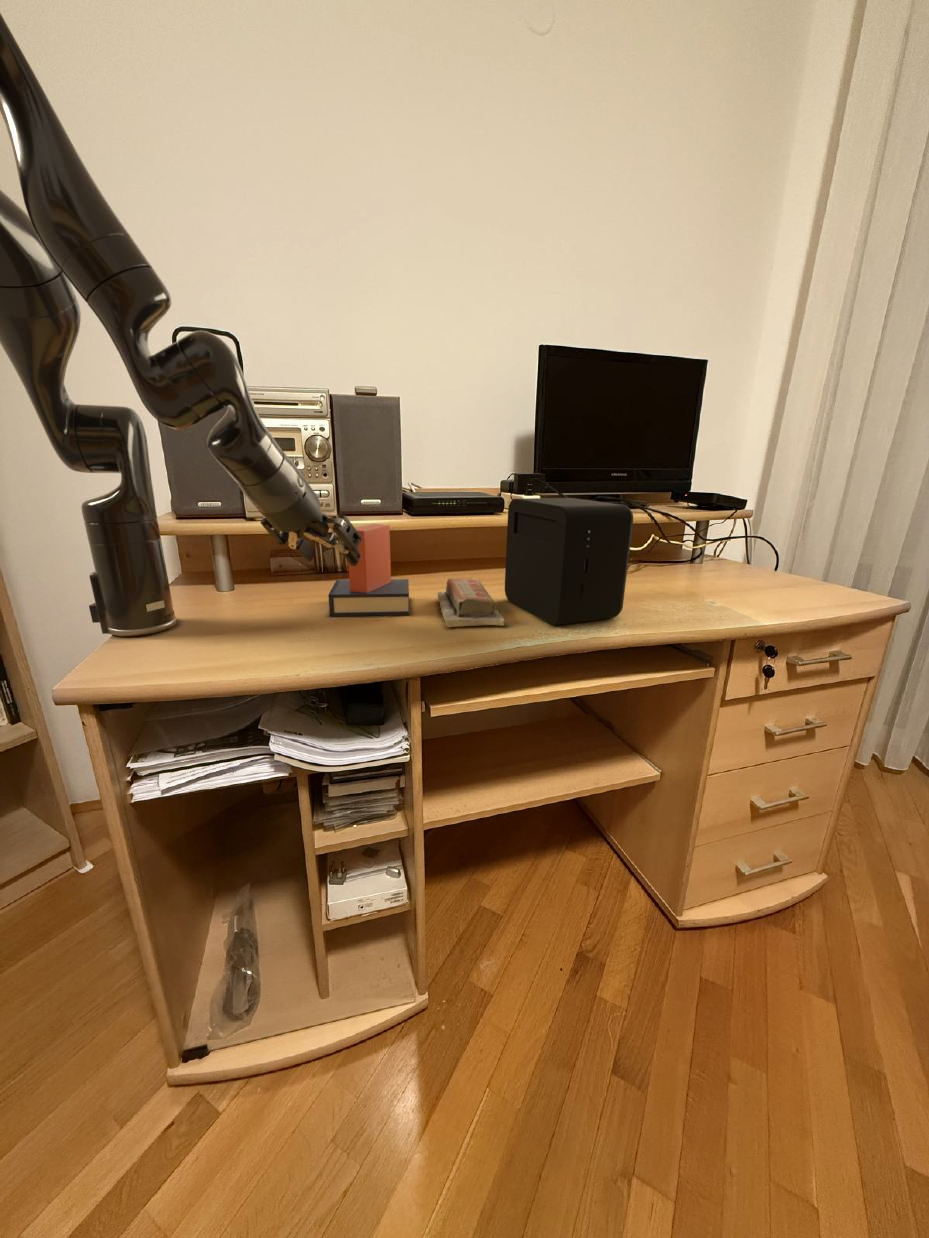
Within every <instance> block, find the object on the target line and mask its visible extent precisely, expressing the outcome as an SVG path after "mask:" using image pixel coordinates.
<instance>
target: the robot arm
mask: <svg viewBox="0 0 929 1238" xmlns="http://www.w3.org/2000/svg"><path fill="white" fill-rule="evenodd" d="M0 115H1V116H2V119H3V121H4V124H5V127H6V130H7V134H8V137H9V140H10V144H11V147H12V152H13V157H14V161H15V165H16V166H15V167H16V171H17V176H18V181H19V187H20V189H21V194H22V198H23V202H24V206H25V209H26V211H27V212H26V211H25V210H24V209H23V208H22V207H21V206H20V205H19V204H18V203H17V202H15V201H14V200H13V198H11V197H10V196H9V195H8V194H7V193H6V192H4V190H2V189H1V188H0V345H1V347H2V349H3V351H4V352H5V354H6V356H7V358H8V359H9V361H10V363H11V365H12V367H13V368H14V370H15V372H16V374H17V376H18V377H19V380H20V381H21V383H22V386H23V387H24V389H25V392H26V394H27V396H28V398H29V399H30V402H31V404H32V407H33V408H34V410H35V413H36V415H37V417H38V420H39V421H40V423H41V426H42V427H43V430H44V433H45V435H46V437H47V439H48V441H49V443H50V445H51V447H52V448H53V450H54V452H55V454H56V456H57V457H58V458H59V460H60V461H61V462H62V463H63V464H64V465H65V466H66V467H67V468H68V469H69V470H71V471H73V472H78V473H84V474H120V483H119V484H118V485H117V486H116V487H115V488H114V489H112V490H111V491H109V492H107V493H104V494H103V495H99V496H96V497H93V498H89V499H87V500H85V501H83V502H82V504H81V508H80V509H81V515H82V519H83V521H84V522H83V523H84V527H85V528H84V529H85V533H86V536H87V541H88V545H89V550H90V553H91V559H92V563H93V568H94V571H93V572H91V573H89V581H90V586H91V590H92V595H93V599H94V603H91V604H89V605H88V609H89V613H90V618H91V621H92V623H93V624H94V623H99V625H100V629H101V634H102V635H105V634H106V635H107V634H108V635H111V636H115V637H139V636H145V635H146V636H147V635H151V634H156V633H160V632H163V631H166V630H168V629H171V628H172V627H174V626H175V625H176V624H177V618H176V615H175V609H174V604H173V599H172V593H171V587H170V582H169V577H168V571H167V563H166V559H165V554H164V553H165V552H164V547H163V543H162V539H161V538H162V537H161V531H160V526H159V520H158V514H157V509H156V501H155V493H154V486H153V481H152V480H153V479H152V473H151V472H152V471H151V465H150V456H149V445H148V438H147V434H146V430H145V425H144V423H143V421H142V418H141V417H140V415H139V414H138V413H137V412H136V411H135V410H134V409H133V408H131V407H128V406H121V405H101V404H78V403H75V402H74V401H73V400H72V399H71V398H70V396H69V394H68V392H67V389H66V385H65V378H66V372H67V368H68V364H69V361H70V358H71V356H72V353H73V350H74V347H75V345H76V342H77V339H78V336H79V333H80V329H81V321H82V312H81V307H80V303H79V301H78V300H79V299H78V298H77V296H76V292H75V290H76V291H77V293H78V294H79V295H80V296H81V297H82V299H83V300H84V302H85V303H86V304H87V305H88V307H89V308H90V310H91V311H92V312H93V313H94V314H95V316H96V317H97V319H98V320H99V321H100V323H101V325H102V326H103V328H104V329H105V331H106V333H107V334H108V336H109V338H110V339H111V341H112V343H113V346H114V347H115V349H116V350H117V352H118V354H119V357H120V359H121V361H122V363H123V364H124V366H125V369H126V372H127V373H128V375H129V378H130V380H131V382H132V385H133V387H134V389H135V391H136V393H137V395H138V398H139V399H140V401H141V403H142V405H143V406H144V407H145V409H146V410H147V411H148V412H149V414H150V415H151V416H152V417H153V418H154V419H155V420H156V421H158V422H159V423H161V424H162V425H164V426H165V427H168V428H170V429H172V430H177V431H185V430H188V429H191V428H193V427H194V426H196V425H198V424H199V423H201V422H203V421H204V420H206V419H208V418H210V417H212V416H213V415H214V414H216V413H218V412H219V411H221V410H223V409H224V408H225V407H227V410H226V412H225V414H224V415H223V416H222V417H221V418H220V420H218V421H217V423H216V424H215V425H214V426H213V428H212V429H211V430H210V432H209V434H208V435H207V440H206V445H207V448H208V450H209V452H210V454H211V456H213V458H214V459H215V460H216V461H217V463H219V465H220V466H221V467H222V468H223V469H224V470H225V471H226V473H227V474H228V475H229V476H230V477H231V478H232V479H233V481H234V482H235V483H236V484H237V485H238V487H239V489H240V490H241V491H242V493H243V494H244V496H245V497H246V498H247V499H248V501H249V502H251V504H252V505H253V506H254V507H255V509H257V510H258V512H259V513H260V514H261V515H262V516H263V517H262V519H261V521H260V525H261V526H262V527H263V528H264V529H265V530H266V532H267V533H268V534H269V535H270V536H271V538H272V539H273V540H274V541H275V542H276V543H277V544H278V546H282V547H284V546H285V545H288V547H289V548H290V549H292V550H295V551H296V552H297V554H299V556H301V557H302V558H303V560H305V561H306V562H312V560H313V558H314V556H315V554H316V551H315V549H314V548H313V546H312V545H311V544H310V542H311V541H313V542H317V543H319V544H321V545H323V546H324V547H326V548H328V549H332V548H334V549H335V550H337V551H339V552H341V554H342V556H343V557H344V558H345V560H346V561H347V562H349V563H350V565H351V566H357V563H358V562H359V560H360V557H361V554H360V552H359V551H358V550H357V549H358V546H359V544H360V542H361V540H362V537H361V535H360V534H359V533H358V531H357V530H356V529H355V528H356V527H355V526H354V525H353V524H352V522H351V521H350V519H349V518H348V517H347V515H346V514H344V513H338V515H337V517H330V516H328V514H326V513H324V512H323V511H322V508H321V503H320V498H319V496H318V495H317V493H316V492H315V491H314V489H313V488H312V487H311V485H310V484H309V482H308V481H307V479H306V478H305V477H304V475H303V473H301V471H300V470H299V468H298V467H297V466H296V464H295V462H293V460H292V459H291V458H290V457H289V456H288V455H287V454H286V453H285V452H284V451H283V449H282V448H281V446H280V445H279V444H278V442H277V441H276V440H275V438H274V437H273V436H272V434H271V432H270V431H269V430H268V428H267V426H266V425H265V424H264V422H263V420H262V418H261V417H260V415H259V413H258V411H257V408H256V407H255V404H254V401H253V398H252V396H251V393H250V390H249V388H248V385H247V381H246V379H245V376H244V373H243V370H242V367H241V365H240V363H239V361H238V358H237V356H236V355H235V353H234V352H233V350H232V349H231V347H230V346H229V345H228V344H227V343H226V342H225V341H224V340H223V339H222V338H220V337H219V336H217V335H216V334H214V333H211V332H209V331H206V330H195V331H192V332H190V333H188V334H186V335H184V336H183V337H181V338H180V339H178V340H177V341H175V342H173V343H171V344H170V345H168V346H166V347H164V348H163V349H161V350H159V351H157V352H156V353H154V354H152V353H151V350H150V348H149V335H150V333H151V332H152V330H153V328H154V327H155V326H156V325H157V324H158V323H159V322H160V321H161V320H162V319H163V318H164V316H166V314H167V313H168V312H169V310H170V309H171V307H172V297H171V294H170V291H169V290H168V288H167V286H166V285H165V284H164V281H162V279H161V278H160V276H159V275H158V273H157V271H156V270H155V269H154V268H153V265H152V264H151V263H150V262H149V259H147V257H146V256H145V254H144V253H143V251H142V250H141V248H140V247H139V246H138V244H137V243H136V241H135V240H134V239H133V237H132V236H131V235H130V232H129V231H128V230H127V228H126V227H125V226H124V224H123V223H122V222H121V220H120V218H119V217H118V216H117V215H116V213H115V211H114V209H113V208H112V207H111V205H110V203H109V202H108V201H107V199H106V197H105V196H104V194H103V193H102V191H101V190H100V188H99V186H98V185H97V183H96V182H95V180H94V178H93V177H92V175H91V174H90V172H89V169H88V168H87V166H86V165H85V163H84V161H83V160H82V158H81V156H80V154H79V152H78V151H77V149H76V147H75V146H74V143H73V141H72V140H71V138H70V136H69V134H68V133H67V130H66V129H65V127H64V125H63V124H62V121H61V120H60V118H59V116H58V114H57V112H56V111H55V108H54V107H53V105H52V103H51V101H50V99H49V97H48V95H47V94H46V92H45V90H44V88H43V86H42V85H41V82H40V81H39V79H38V77H37V76H36V73H35V72H34V70H33V68H32V67H31V65H30V63H29V62H28V60H27V58H26V56H25V54H24V52H23V51H22V49H21V47H20V45H19V43H18V42H17V40H16V38H15V36H14V34H13V32H12V31H11V29H10V28H9V26H8V23H7V22H6V20H5V18H4V17H3V15H2V12H0ZM73 287H74V288H73ZM74 289H75V290H74ZM330 530H331V531H332V534H331V537H329V539H328V538H327V536H328V534H329V531H330ZM352 537H353V538H352ZM338 539H340V540H341V542H342V544H341V543H340V542H338Z"/></svg>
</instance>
